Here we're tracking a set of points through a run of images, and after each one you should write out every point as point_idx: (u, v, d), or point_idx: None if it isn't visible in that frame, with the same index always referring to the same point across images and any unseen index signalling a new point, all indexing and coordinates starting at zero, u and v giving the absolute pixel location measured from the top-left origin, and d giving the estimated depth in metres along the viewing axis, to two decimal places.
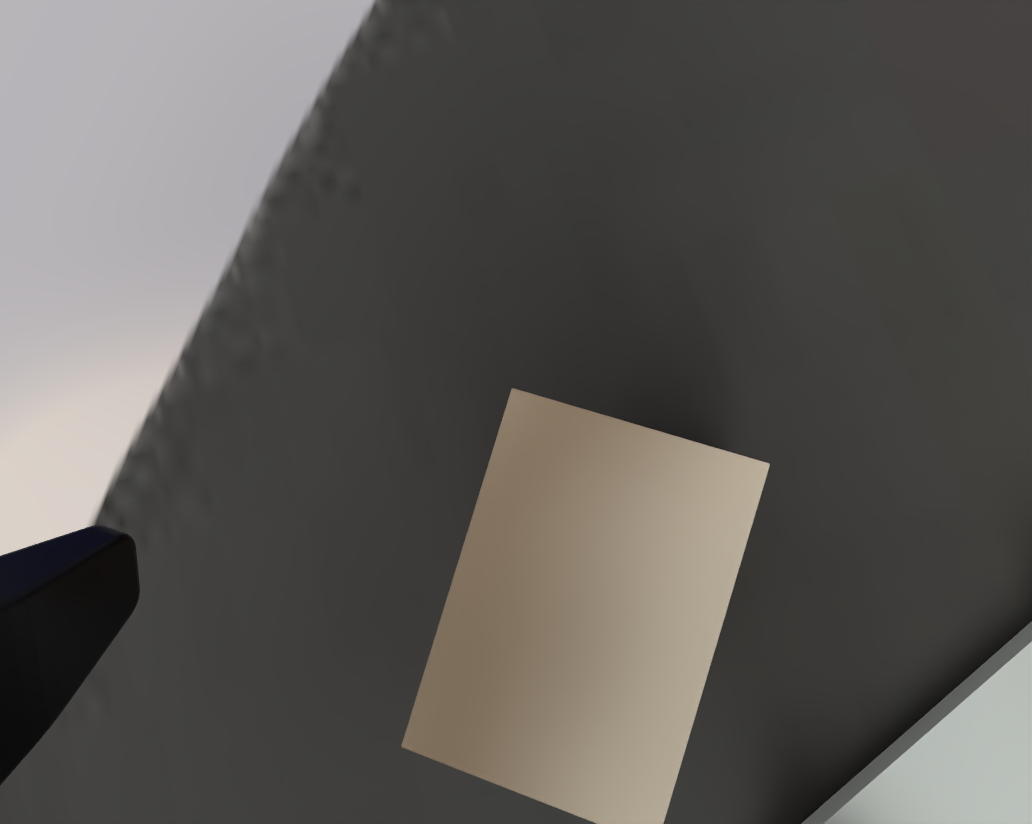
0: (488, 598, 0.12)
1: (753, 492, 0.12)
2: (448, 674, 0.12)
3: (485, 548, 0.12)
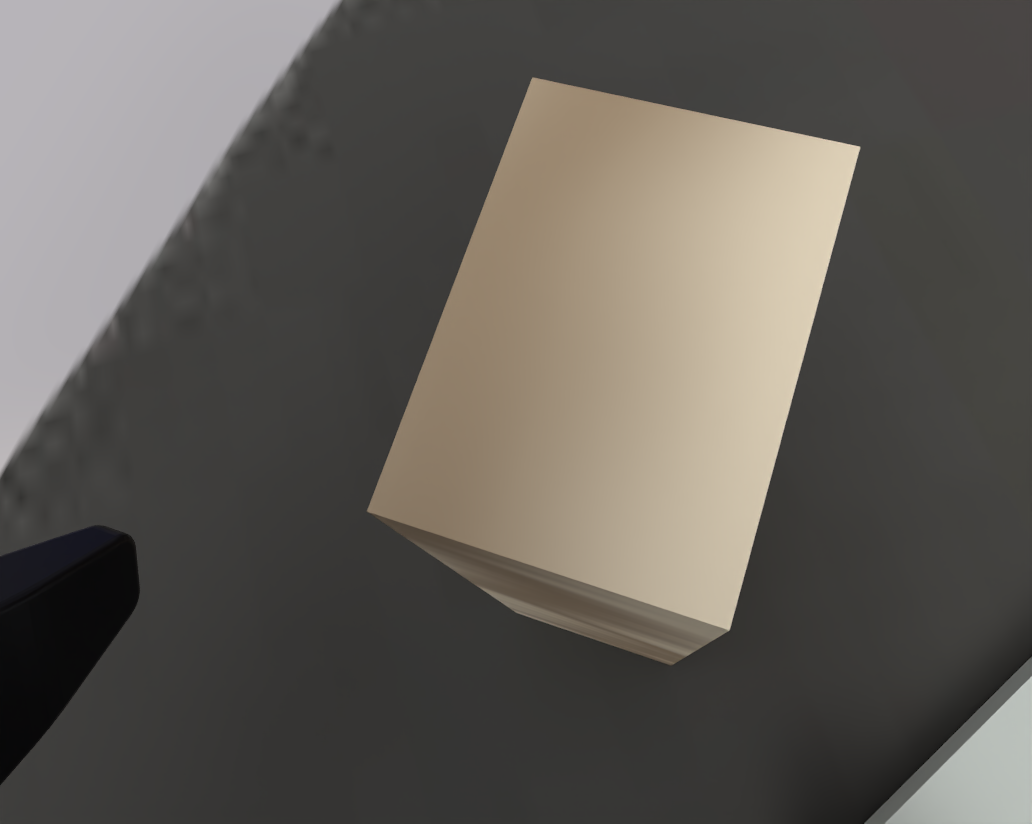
0: (494, 317, 0.09)
1: (841, 178, 0.09)
2: (437, 413, 0.09)
3: (493, 257, 0.09)
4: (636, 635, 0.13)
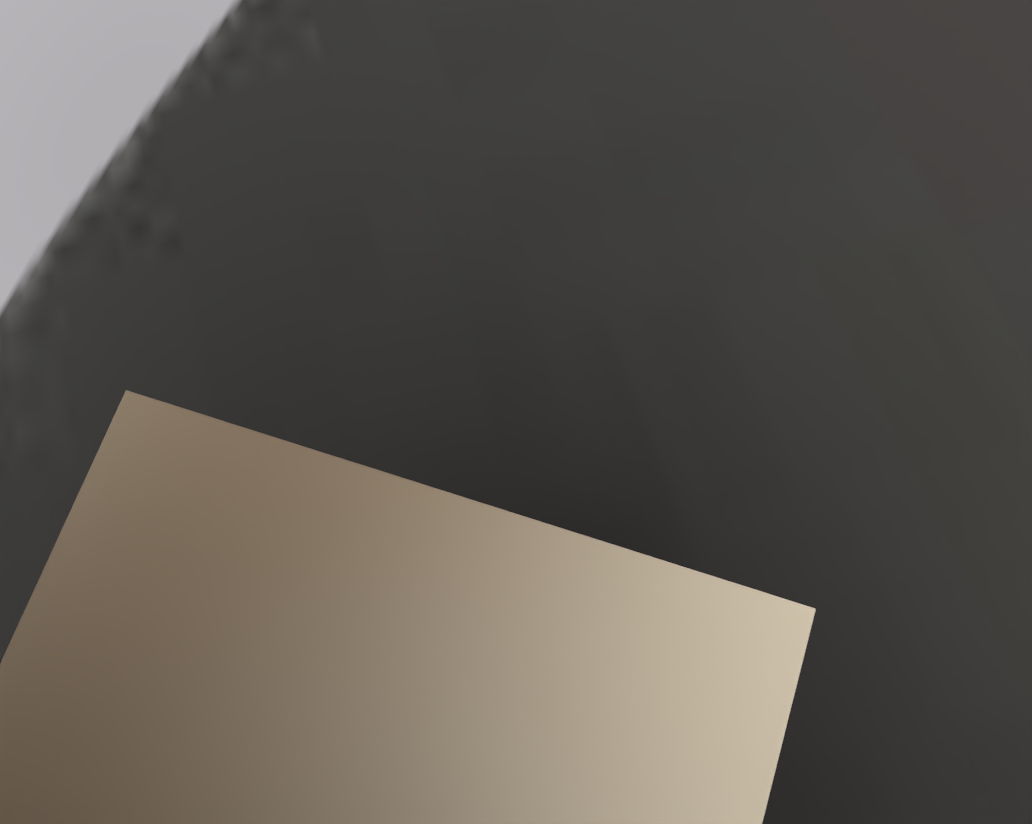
0: None
1: (770, 695, 0.04)
2: None
3: None
4: None
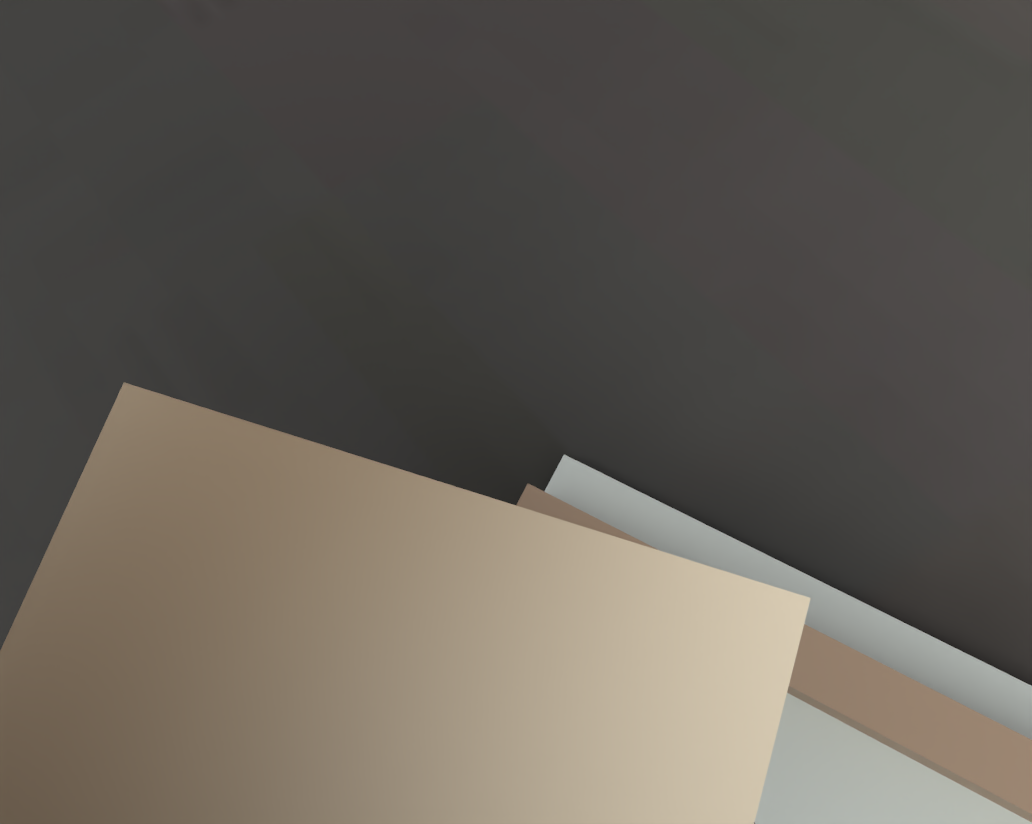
0: None
1: (765, 683, 0.04)
2: None
3: None
4: None
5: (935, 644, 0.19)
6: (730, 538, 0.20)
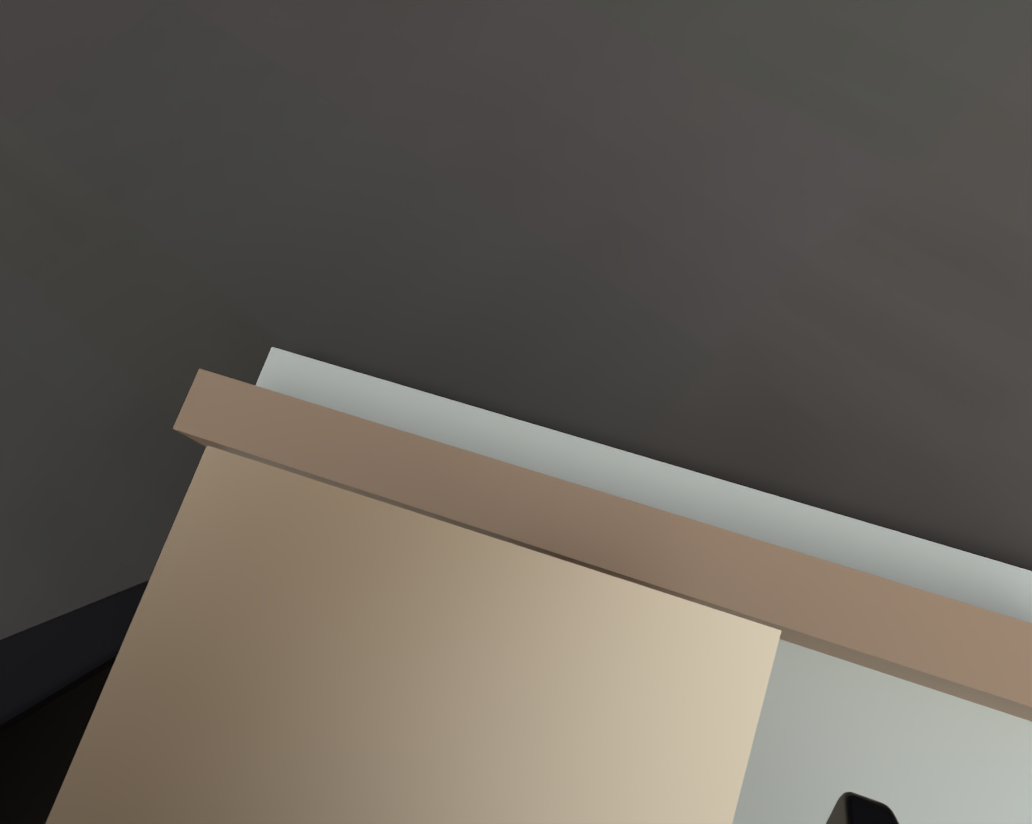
0: None
1: (743, 701, 0.05)
2: None
3: None
4: None
5: (691, 477, 0.17)
6: (459, 403, 0.18)
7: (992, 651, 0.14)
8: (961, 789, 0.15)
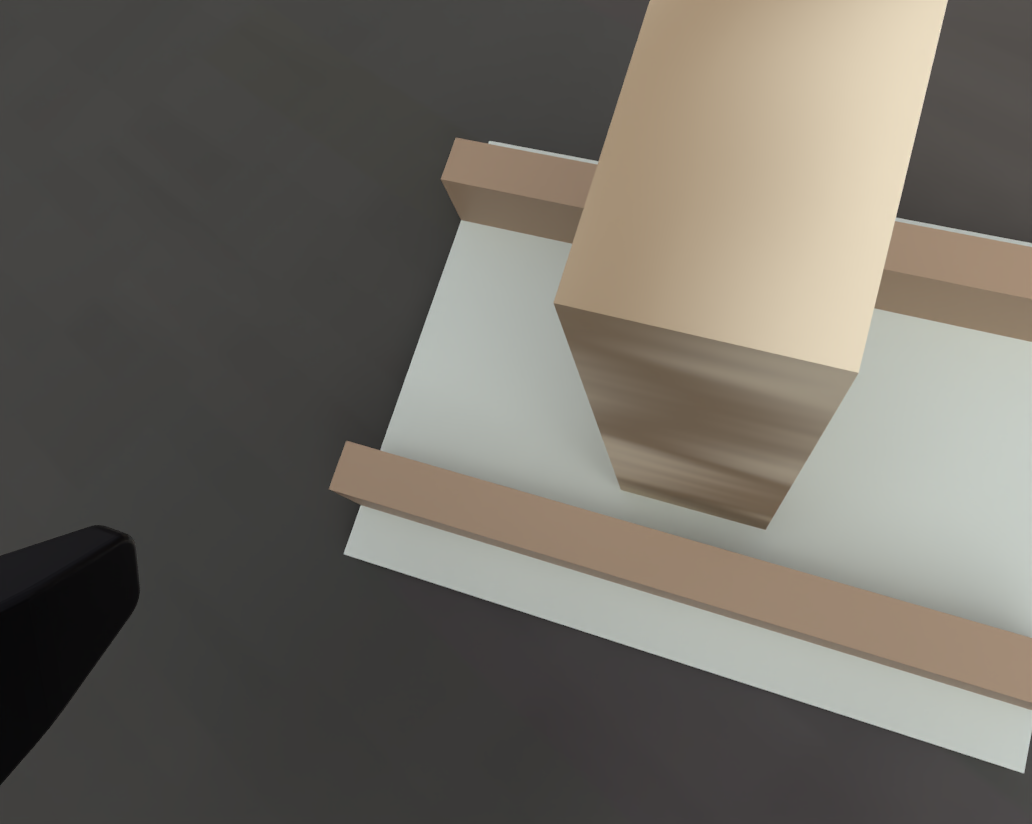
0: (647, 147, 0.11)
1: (935, 15, 0.11)
2: (605, 224, 0.11)
3: (643, 99, 0.11)
4: (750, 460, 0.15)
5: None
6: None
7: None
8: (1029, 400, 0.21)
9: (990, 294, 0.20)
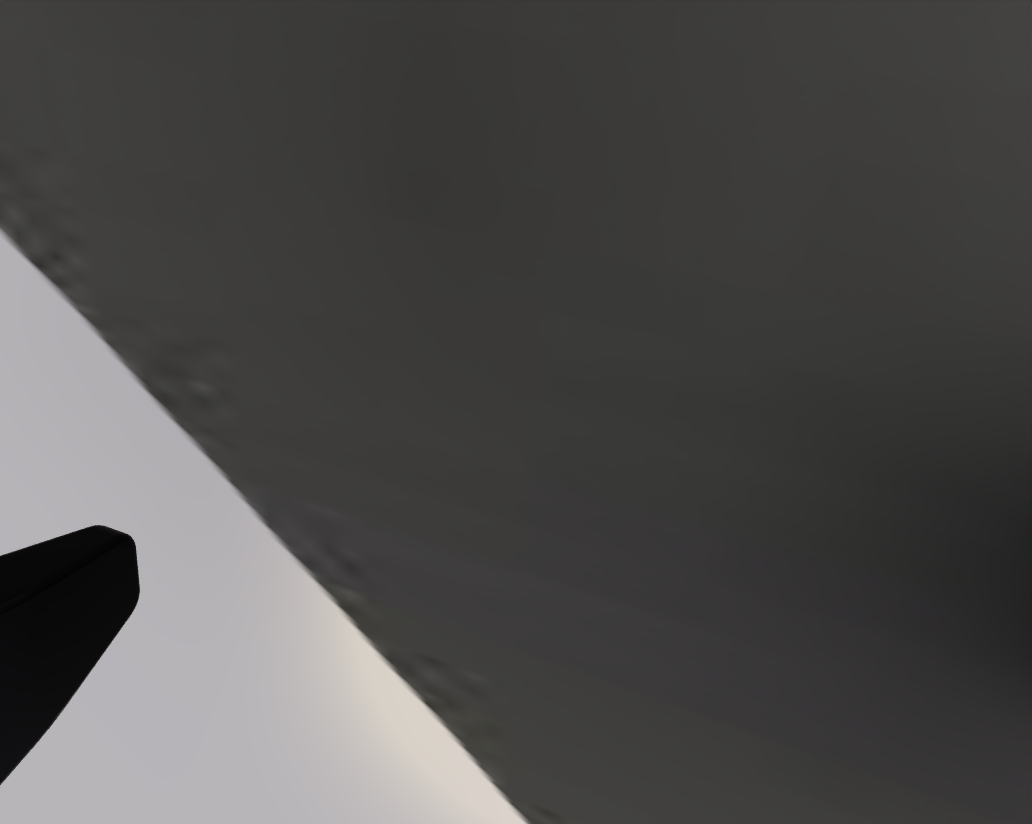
0: None
1: None
2: None
3: None
4: None
5: None
6: None
7: None
8: None
9: None
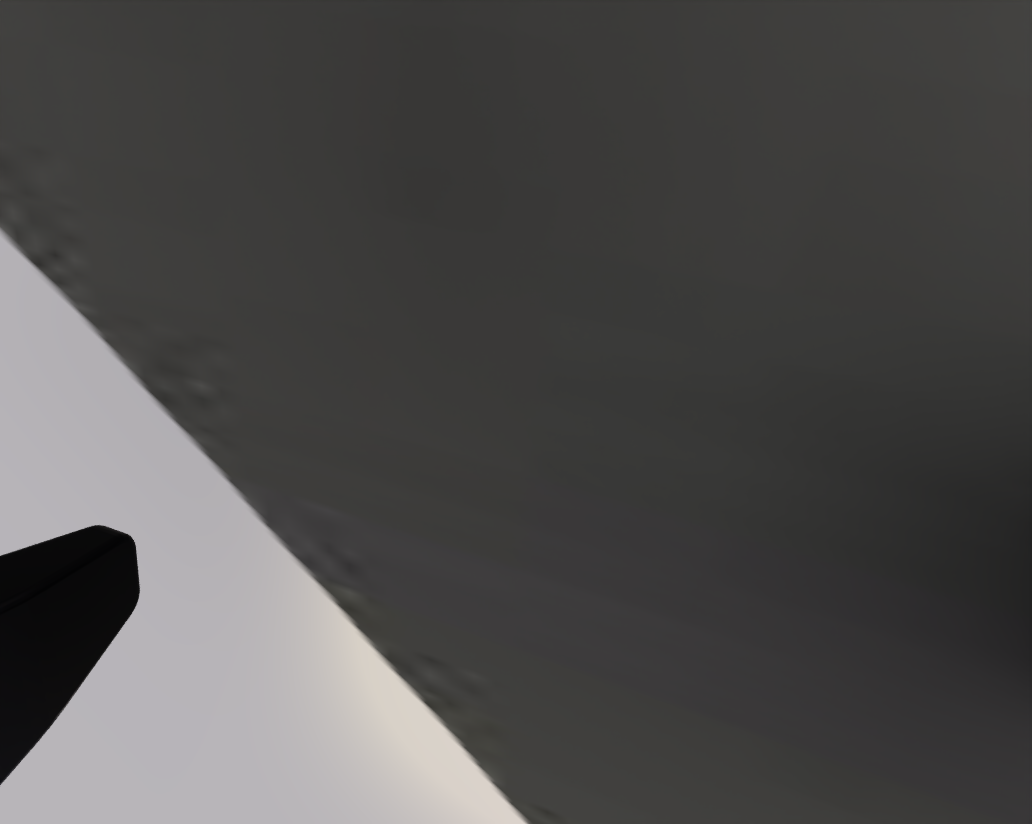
0: None
1: None
2: None
3: None
4: None
5: None
6: None
7: None
8: None
9: None
